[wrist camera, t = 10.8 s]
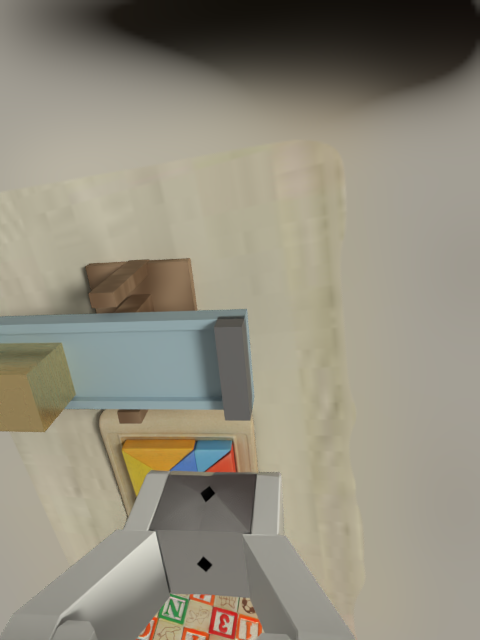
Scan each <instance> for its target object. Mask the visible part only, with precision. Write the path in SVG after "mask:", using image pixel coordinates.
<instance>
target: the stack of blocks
mask: <svg viewBox="0 0 480 640" xmlns="http://www.w3.org/2000/svg"><path fill="white" fill-rule="evenodd" d="M261 633H265V632H264V630H263V628H262V625H261V623H260V621H259V619H258V616H257V614H256V612H255V610H254V607H253V605H252V603H251V601H250V598H242V597H231V596H219V595H201V594H170V597H169V599H168V600H167V601H166V602H165V604H164V605H163V606H162V607H161V609H160V610H159V611H158V612H157V614H156V615H155V616H154V617H153V619H152V620H151V621H150V622H149V624H148V625H147V626H146V627H145V629H144V630H143V631H142V632H141V634H140V635H139V636H138V638H137V639H136V640H255V639H256V638H257V637H258V636H259V635H260V634H261Z"/></svg>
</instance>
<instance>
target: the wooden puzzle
mask: <svg viewBox="0 0 480 640" xmlns="http://www.w3.org/2000/svg"><path fill="white" fill-rule="evenodd" d="M118 410H119V409H105V410H104V411H103V412H102V413H101V415H100V418H99V428H100V432H101V435H102V438H103V441H104V444H105V447H106V450H107V453H108V456H109V459H110V462H111V465H112V468H113V471H114V474H115V478H116V481H117V484H118V487H119V490H120V493H121V496H122V499H123V502H124V506H125V509H126V512H127V515H128V517H129V514H130V512H131V509H132V507H133V505H134V502H135V500H136V498H137V495H138V493H139V491H140V488H141V486H142V484H143V481H144V479H145V477H146V475H147V474H148V473H149V472H150V471H151V470H158V471H195V472H258V464H257V454H256V444H255V433H254V422H253V416H252V414H251V420H250V421H227V420H225V417H224V410H180V409H149V410H148V412H147V414H146V416H145V418H144V420H143V422H142V423H141V424H120V423H119V419H118V415H117V411H118Z"/></svg>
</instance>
